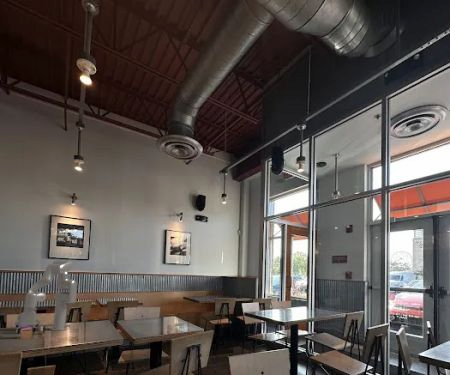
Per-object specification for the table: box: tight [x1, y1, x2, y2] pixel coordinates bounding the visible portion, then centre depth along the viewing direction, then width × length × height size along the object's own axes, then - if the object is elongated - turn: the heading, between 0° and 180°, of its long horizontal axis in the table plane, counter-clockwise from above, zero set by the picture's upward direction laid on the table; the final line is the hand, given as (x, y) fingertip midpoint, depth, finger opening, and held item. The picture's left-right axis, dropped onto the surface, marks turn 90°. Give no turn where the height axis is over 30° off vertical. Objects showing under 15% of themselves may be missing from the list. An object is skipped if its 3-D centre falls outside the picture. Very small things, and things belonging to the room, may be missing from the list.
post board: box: [16, 325, 48, 340], centre depth 272 cm, size 20×20×8 cm
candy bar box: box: [15, 312, 33, 334], centre depth 285 cm, size 11×5×16 cm, turn 161°
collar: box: [19, 328, 33, 340], centre depth 266 cm, size 7×7×5 cm
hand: (26, 333), depth 265 cm, fingers open, 9 cm apart
